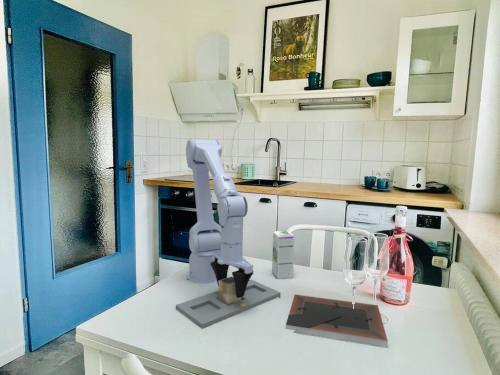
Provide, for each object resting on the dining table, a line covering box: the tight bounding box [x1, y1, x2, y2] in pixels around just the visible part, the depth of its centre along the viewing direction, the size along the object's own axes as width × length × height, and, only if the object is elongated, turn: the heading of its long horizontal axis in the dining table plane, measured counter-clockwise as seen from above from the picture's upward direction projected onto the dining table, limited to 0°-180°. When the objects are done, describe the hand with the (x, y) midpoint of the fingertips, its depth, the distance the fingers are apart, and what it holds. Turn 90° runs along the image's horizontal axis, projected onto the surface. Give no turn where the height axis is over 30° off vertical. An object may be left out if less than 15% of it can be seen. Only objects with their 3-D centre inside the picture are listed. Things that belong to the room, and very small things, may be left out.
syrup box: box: [271, 230, 295, 280], centre depth 106 cm, size 6×6×14 cm
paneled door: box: [175, 278, 282, 330], centre depth 86 cm, size 12×26×2 cm, turn 132°
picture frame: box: [285, 294, 389, 349], centre depth 79 cm, size 16×2×22 cm
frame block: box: [218, 275, 241, 306], centre depth 85 cm, size 4×4×6 cm
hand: (230, 291), depth 86 cm, fingers open, 7 cm apart
